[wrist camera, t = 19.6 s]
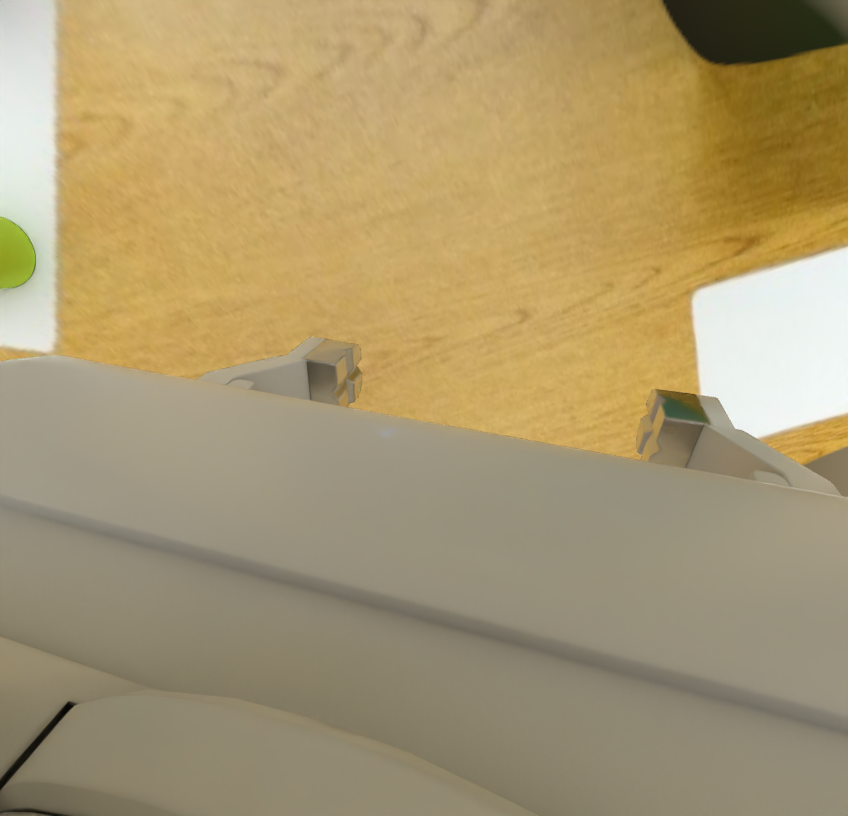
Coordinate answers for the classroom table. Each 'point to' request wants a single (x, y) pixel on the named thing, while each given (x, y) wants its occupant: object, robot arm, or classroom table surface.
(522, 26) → the classroom table surface
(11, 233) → the soap dispenser
